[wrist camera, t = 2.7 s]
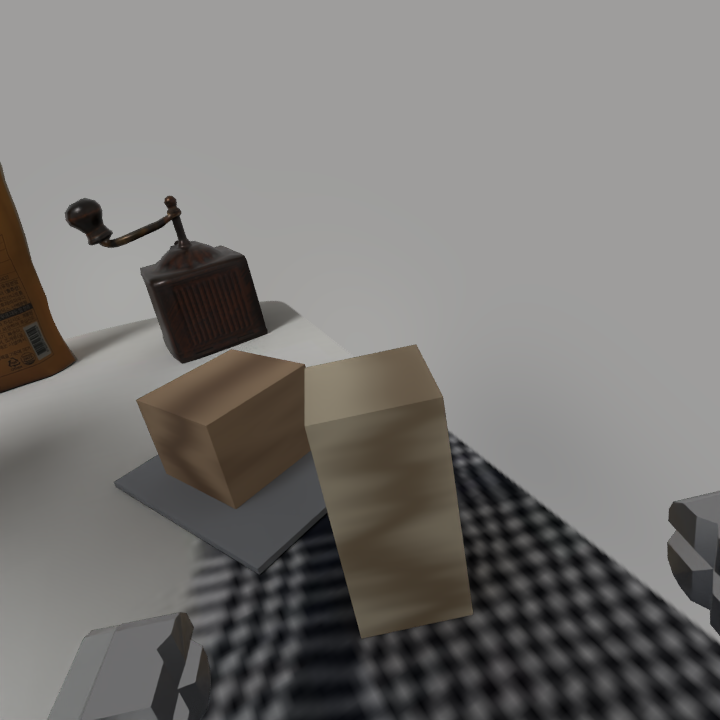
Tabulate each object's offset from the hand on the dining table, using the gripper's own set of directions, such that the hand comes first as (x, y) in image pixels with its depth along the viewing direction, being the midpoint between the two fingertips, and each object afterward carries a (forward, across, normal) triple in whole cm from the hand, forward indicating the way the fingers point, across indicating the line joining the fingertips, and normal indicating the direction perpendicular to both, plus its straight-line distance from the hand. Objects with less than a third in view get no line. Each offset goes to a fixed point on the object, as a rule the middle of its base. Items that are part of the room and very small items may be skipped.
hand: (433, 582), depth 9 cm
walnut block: (+26, +10, +12) cm, 30 cm away
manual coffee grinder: (+54, +19, +13) cm, 58 cm away
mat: (+24, +10, +13) cm, 29 cm away
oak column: (+13, 0, +13) cm, 18 cm away
